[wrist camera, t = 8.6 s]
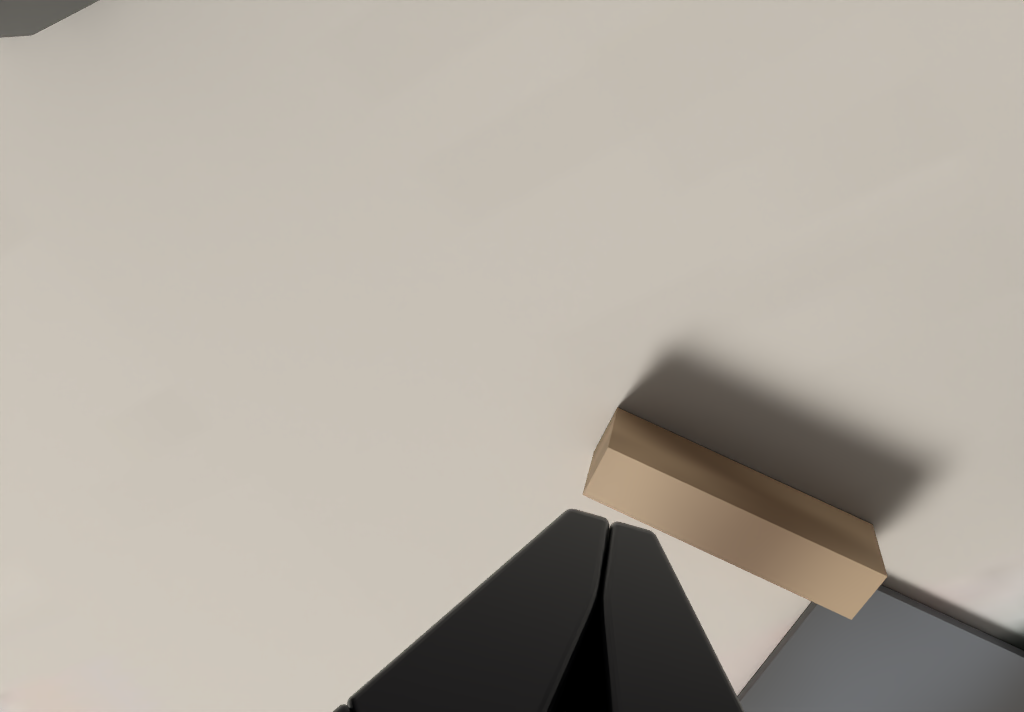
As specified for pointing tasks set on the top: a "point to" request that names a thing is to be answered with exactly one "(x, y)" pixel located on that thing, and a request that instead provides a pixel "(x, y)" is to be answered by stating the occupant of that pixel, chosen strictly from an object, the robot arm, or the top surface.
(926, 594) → the top surface
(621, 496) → the trap lane
